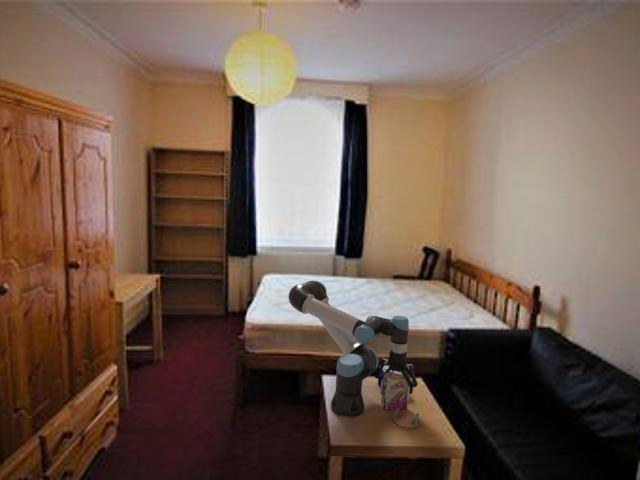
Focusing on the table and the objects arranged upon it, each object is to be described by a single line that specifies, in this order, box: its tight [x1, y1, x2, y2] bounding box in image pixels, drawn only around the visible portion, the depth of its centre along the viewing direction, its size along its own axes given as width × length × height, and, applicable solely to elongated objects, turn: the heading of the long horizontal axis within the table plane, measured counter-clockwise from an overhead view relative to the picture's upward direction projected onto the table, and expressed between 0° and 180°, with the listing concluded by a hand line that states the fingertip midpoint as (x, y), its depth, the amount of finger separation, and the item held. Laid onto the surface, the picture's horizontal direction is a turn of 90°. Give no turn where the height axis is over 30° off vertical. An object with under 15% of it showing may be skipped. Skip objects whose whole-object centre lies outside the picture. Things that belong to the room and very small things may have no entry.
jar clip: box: [392, 408, 420, 429], centre depth 181 cm, size 10×10×3 cm
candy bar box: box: [380, 372, 411, 411], centre depth 191 cm, size 11×5×16 cm, turn 98°
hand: (394, 396), depth 192 cm, fingers closed on candy bar box, 12 cm apart
